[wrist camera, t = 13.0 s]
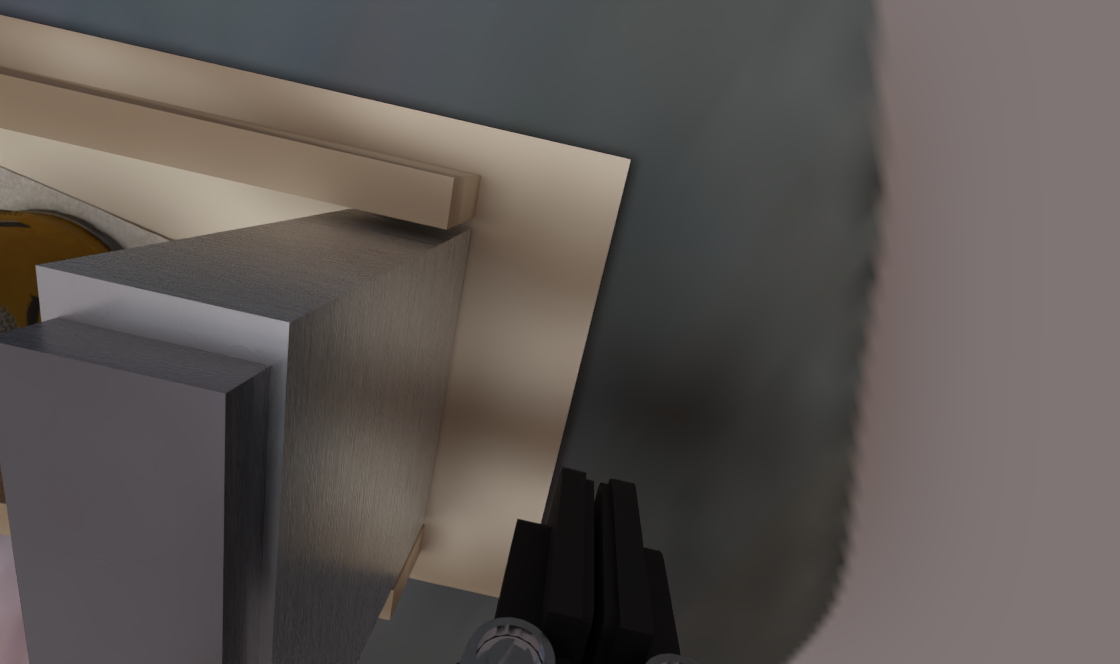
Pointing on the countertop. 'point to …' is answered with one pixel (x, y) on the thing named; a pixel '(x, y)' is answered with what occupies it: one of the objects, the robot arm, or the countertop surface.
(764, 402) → the countertop surface
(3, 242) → the condiment
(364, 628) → the grey flat block
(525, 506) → the wooden tray
